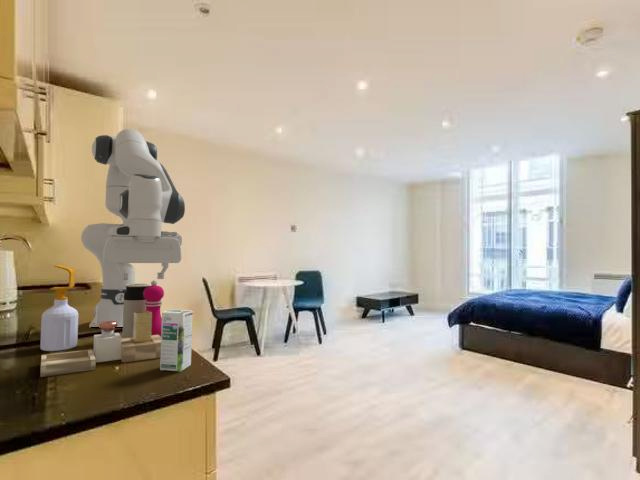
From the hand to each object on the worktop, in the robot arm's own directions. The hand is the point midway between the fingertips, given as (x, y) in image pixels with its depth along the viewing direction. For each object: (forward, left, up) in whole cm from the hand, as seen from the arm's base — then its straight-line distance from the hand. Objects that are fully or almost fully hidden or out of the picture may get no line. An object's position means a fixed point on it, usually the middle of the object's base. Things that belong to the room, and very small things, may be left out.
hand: (142, 279), depth 109 cm
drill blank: (0, 0, -21) cm, 21 cm away
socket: (0, 0, -21) cm, 21 cm away
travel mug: (-21, +2, -22) cm, 30 cm away
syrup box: (+17, +5, -22) cm, 28 cm away
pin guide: (-1, -8, -21) cm, 23 cm away
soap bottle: (-20, -19, -22) cm, 35 cm away
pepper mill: (-11, +5, -22) cm, 25 cm away
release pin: (-1, -8, -21) cm, 22 cm away
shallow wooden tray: (+3, -17, -21) cm, 28 cm away
